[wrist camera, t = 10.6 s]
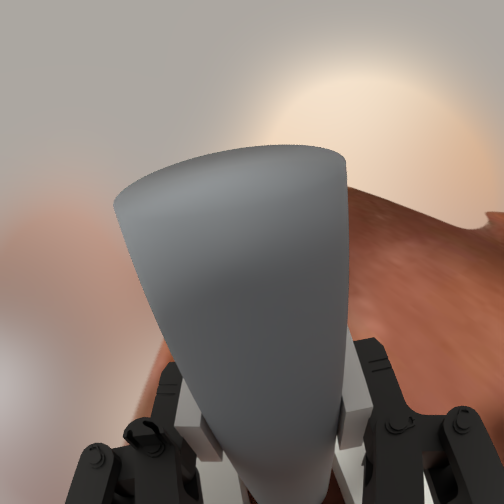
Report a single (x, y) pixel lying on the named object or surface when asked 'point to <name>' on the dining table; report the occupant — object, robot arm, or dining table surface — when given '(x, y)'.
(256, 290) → the tall dowel
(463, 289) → the dining table surface
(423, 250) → the dining table surface
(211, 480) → the block
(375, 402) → the robot arm
